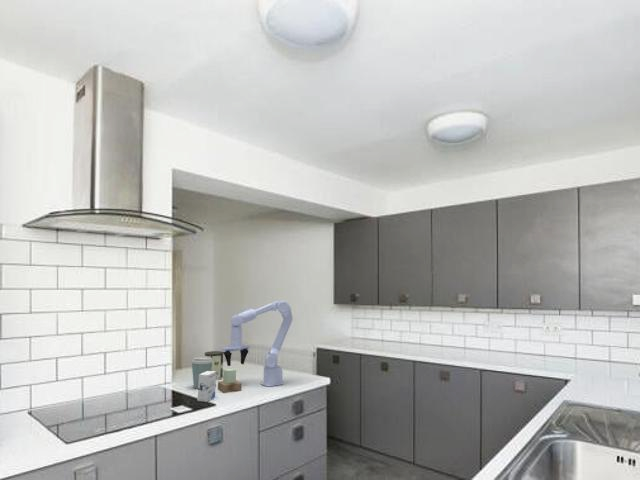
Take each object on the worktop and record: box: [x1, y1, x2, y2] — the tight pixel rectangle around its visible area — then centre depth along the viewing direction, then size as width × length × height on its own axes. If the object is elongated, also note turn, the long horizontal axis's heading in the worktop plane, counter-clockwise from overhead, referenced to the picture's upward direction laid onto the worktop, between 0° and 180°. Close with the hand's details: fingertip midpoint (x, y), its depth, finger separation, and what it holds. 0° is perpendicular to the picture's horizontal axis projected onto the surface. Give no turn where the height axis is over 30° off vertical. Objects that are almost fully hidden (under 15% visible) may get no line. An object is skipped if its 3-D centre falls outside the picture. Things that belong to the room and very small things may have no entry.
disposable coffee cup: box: [190, 356, 213, 390], centre depth 216 cm, size 11×11×15 cm
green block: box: [222, 368, 237, 384], centre depth 211 cm, size 4×4×6 cm
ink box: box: [197, 371, 217, 403], centre depth 194 cm, size 9×5×12 cm, turn 168°
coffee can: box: [204, 350, 224, 381], centre depth 237 cm, size 10×10×14 cm
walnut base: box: [217, 379, 242, 394], centre depth 211 cm, size 9×9×4 cm
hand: (235, 364), depth 221 cm, fingers open, 7 cm apart
